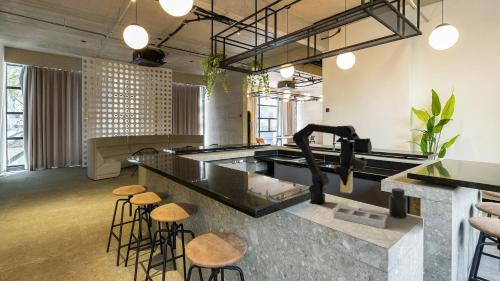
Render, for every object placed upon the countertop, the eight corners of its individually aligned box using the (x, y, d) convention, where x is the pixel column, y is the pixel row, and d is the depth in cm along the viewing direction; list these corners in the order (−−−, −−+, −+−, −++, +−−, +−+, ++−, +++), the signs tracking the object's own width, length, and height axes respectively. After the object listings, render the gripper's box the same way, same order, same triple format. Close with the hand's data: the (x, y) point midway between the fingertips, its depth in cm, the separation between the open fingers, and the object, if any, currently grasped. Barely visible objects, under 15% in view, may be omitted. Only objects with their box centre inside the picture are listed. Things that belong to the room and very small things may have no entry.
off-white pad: (333, 209, 117) (333, 208, 117) (338, 204, 124) (338, 203, 124) (355, 214, 111) (355, 213, 111) (359, 208, 118) (359, 207, 118)
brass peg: (340, 191, 117) (340, 171, 116) (343, 189, 120) (343, 169, 119) (350, 193, 114) (350, 172, 113) (352, 191, 117) (352, 170, 117)
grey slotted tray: (333, 217, 108) (333, 212, 108) (338, 211, 115) (338, 206, 114) (384, 228, 96) (384, 222, 96) (387, 221, 103) (387, 215, 102)
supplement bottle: (400, 212, 112) (400, 187, 111) (410, 218, 105) (411, 191, 104) (385, 213, 111) (386, 187, 110) (394, 219, 105) (395, 192, 104)
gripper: (360, 155, 103) (360, 191, 104) (369, 150, 118) (368, 182, 119) (334, 154, 110) (333, 188, 111) (345, 149, 125) (345, 179, 126)
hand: (346, 184), depth 117 cm, fingers closed on brass peg, 4 cm apart
